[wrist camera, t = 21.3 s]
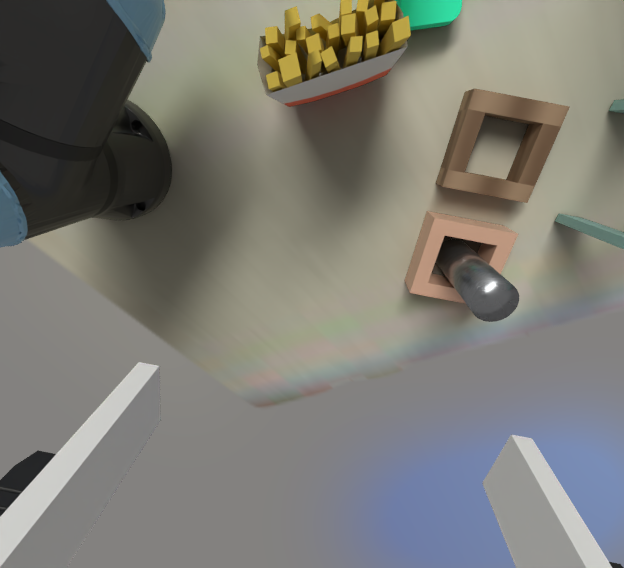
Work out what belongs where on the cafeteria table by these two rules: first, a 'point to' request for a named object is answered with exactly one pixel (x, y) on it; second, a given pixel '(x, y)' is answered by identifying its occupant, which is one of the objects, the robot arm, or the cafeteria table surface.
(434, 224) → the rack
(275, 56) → the french fries container
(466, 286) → the metal cylinder
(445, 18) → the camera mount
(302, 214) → the cafeteria table surface
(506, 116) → the socket block
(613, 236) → the teal green arch
